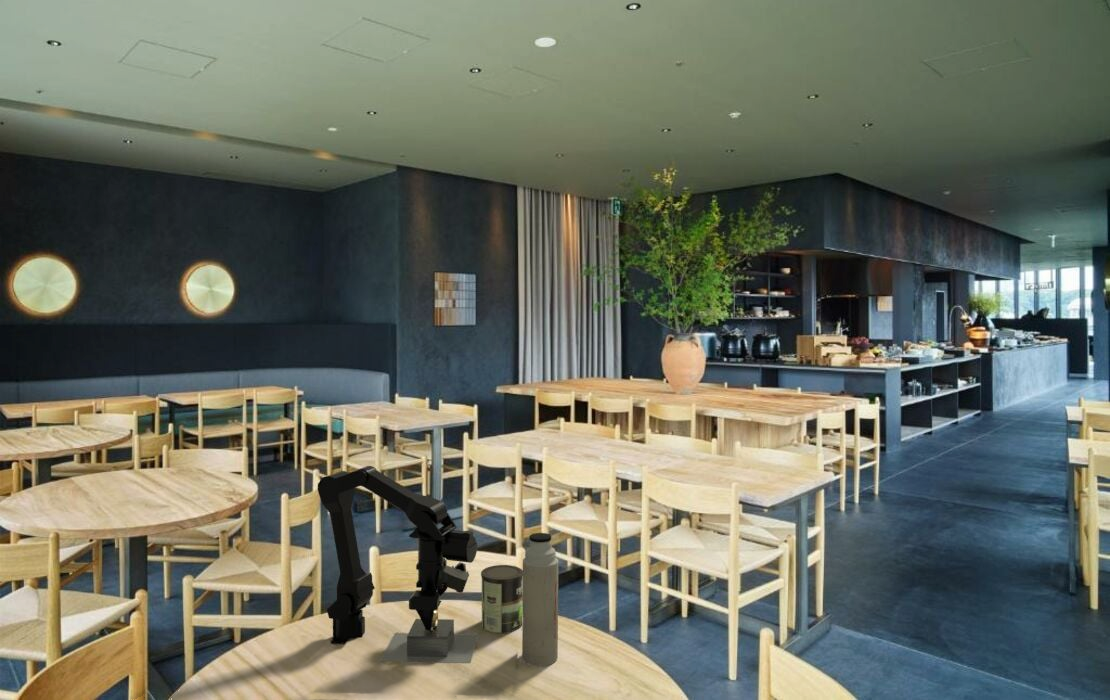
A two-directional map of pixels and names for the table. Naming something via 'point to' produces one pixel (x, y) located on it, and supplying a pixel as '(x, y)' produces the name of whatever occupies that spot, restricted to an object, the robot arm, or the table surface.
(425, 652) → the grey knob block
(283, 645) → the table surface
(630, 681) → the table surface
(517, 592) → the coffee can
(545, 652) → the thermos bottle
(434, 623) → the golden knob
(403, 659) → the slate board
